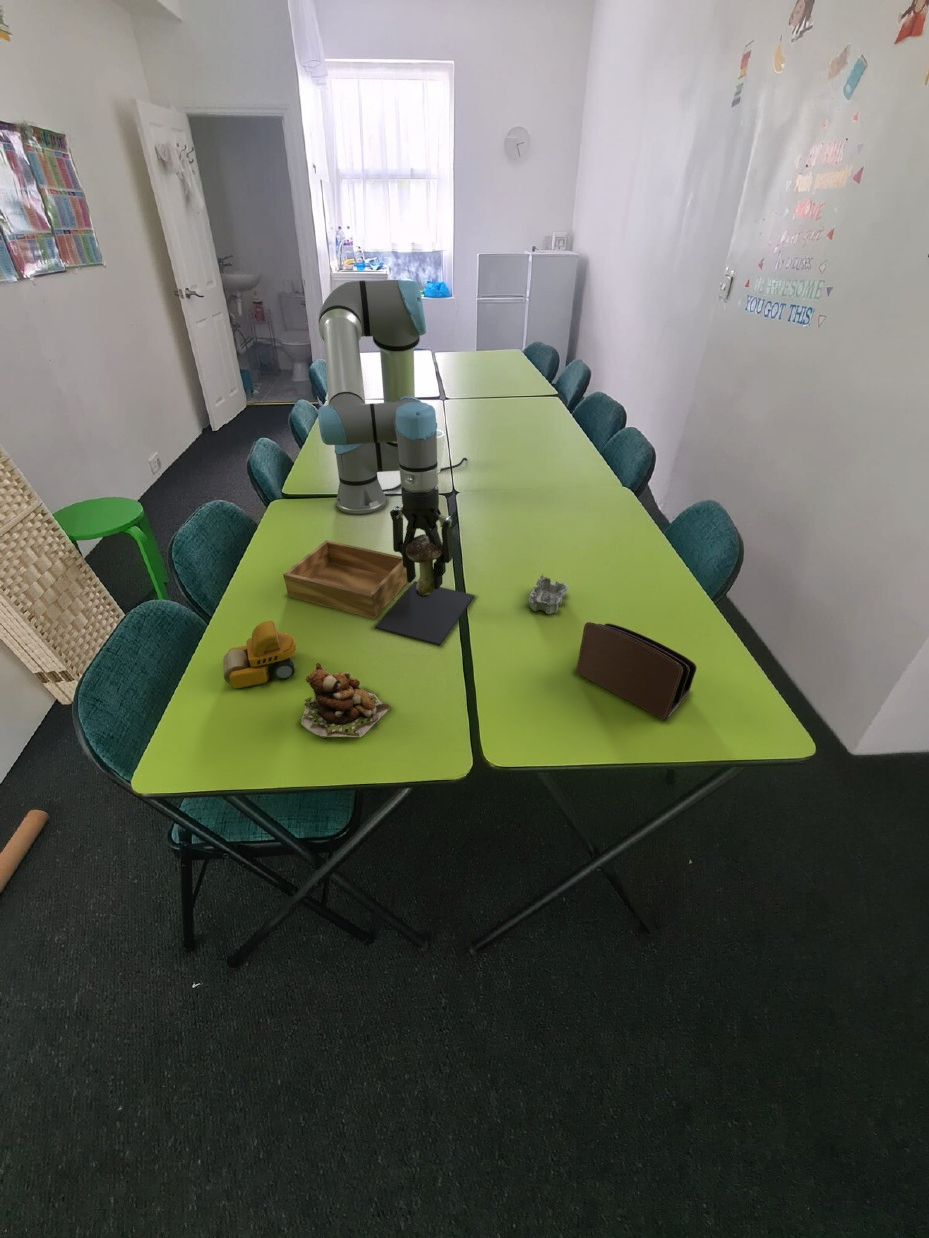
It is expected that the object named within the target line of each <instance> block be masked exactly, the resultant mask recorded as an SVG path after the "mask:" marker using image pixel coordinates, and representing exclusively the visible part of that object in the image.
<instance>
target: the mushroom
mask: <svg viewBox="0 0 929 1238" xmlns="http://www.w3.org/2000/svg"><path fill="white" fill-rule="evenodd" d="M406 553H407V556H408V558H409V559H410V560H412V561H413V562H415V564H416V563H418V565H419V578H418V580H417V581H416V582H417V585H416V593H417V595H418V596H420V597H428V596H429V595H430V594H431V593H432V592H433V591H434V590H435V589H434V567H433V563H434V561H436V559H437V558H439V557H440V556H441V555H442V554H443V543H438V544H437V545H434V544H433V543H430V541H429V538H428V536H426V534H425V533H424V534H423V533H422V534H420V535H417V536H414V538H413V539H412V540H411V542H410V543H409V545H408V546H407V548H406Z"/></svg>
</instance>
